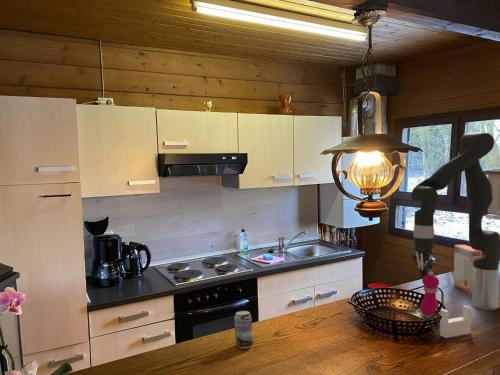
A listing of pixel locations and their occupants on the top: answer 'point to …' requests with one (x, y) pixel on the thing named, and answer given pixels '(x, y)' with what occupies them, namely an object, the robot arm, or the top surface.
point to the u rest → (455, 323)
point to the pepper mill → (429, 294)
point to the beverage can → (243, 329)
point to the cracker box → (464, 267)
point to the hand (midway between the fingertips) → (423, 277)
